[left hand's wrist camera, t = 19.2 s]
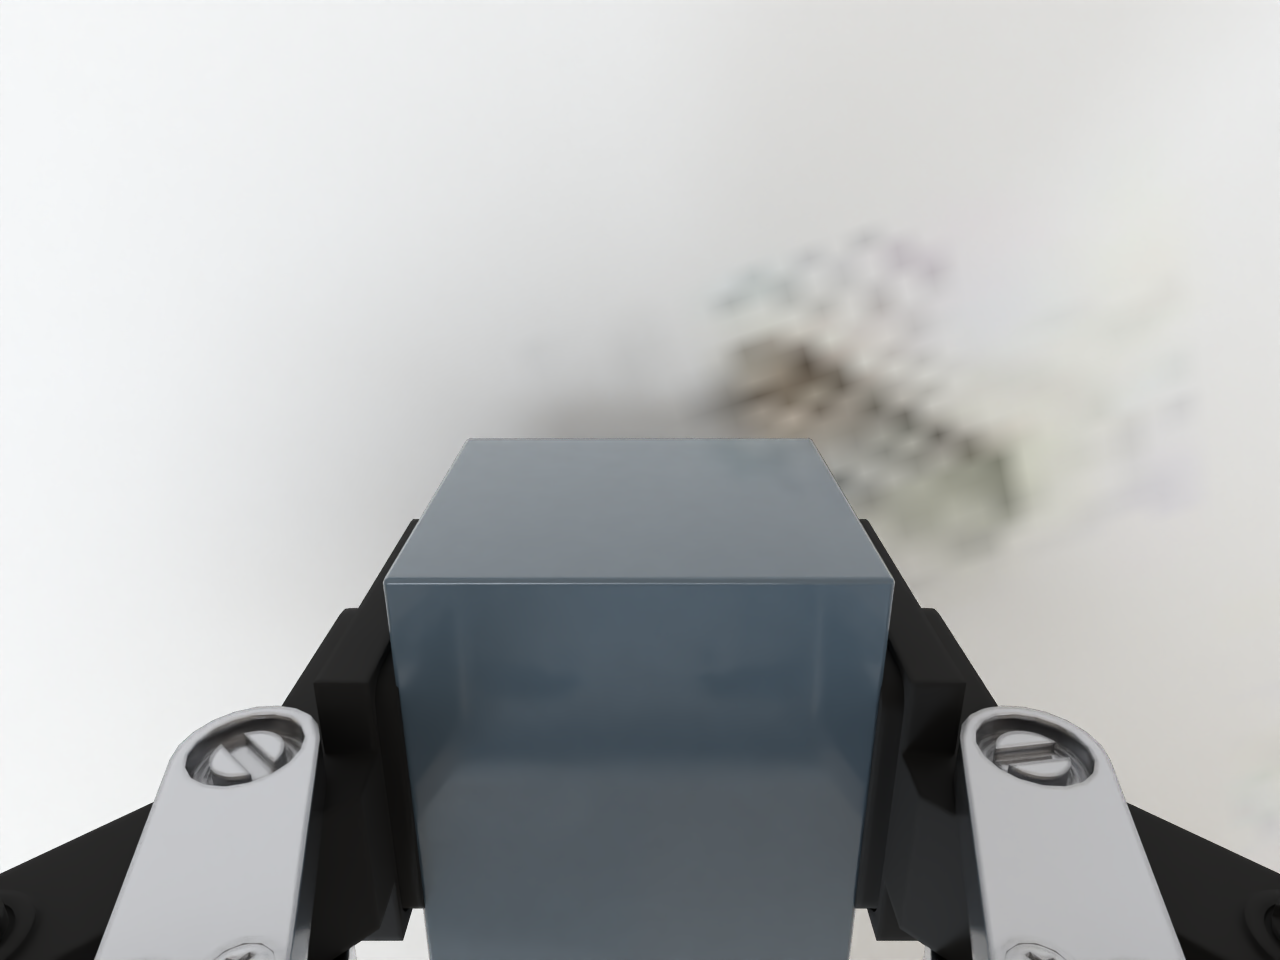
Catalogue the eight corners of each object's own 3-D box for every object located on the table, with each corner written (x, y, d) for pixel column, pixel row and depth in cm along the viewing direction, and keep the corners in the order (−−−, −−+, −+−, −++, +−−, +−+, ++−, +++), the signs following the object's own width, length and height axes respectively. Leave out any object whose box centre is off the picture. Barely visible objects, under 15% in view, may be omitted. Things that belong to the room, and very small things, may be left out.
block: (466, 437, 11) (380, 579, 8) (811, 436, 11) (897, 579, 8) (489, 738, 13) (428, 974, 9) (790, 738, 13) (849, 974, 9)
